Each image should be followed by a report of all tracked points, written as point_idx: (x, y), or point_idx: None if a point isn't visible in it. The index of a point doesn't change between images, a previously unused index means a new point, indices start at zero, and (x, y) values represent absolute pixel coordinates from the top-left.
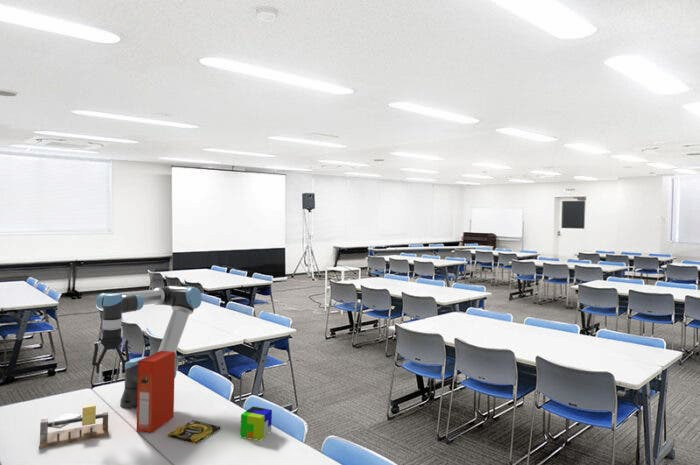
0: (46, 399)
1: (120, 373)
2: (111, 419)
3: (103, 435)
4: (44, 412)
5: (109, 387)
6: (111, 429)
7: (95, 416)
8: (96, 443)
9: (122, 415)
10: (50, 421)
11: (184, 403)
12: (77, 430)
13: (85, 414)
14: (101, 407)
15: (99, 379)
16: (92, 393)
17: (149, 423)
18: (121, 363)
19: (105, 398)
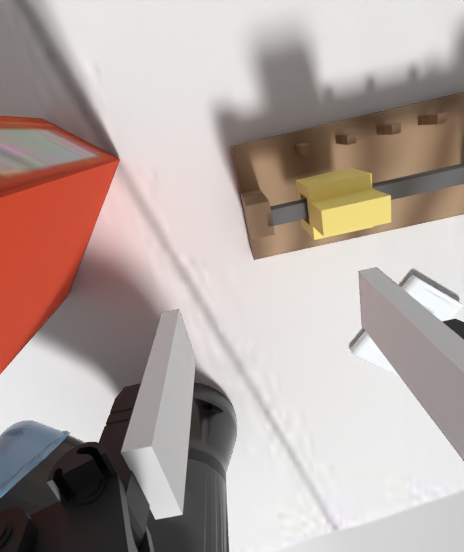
0: (452, 482)
1: (169, 341)
2: (245, 305)
3: (249, 142)
4: None
5: (288, 531)
6: (229, 211)
7: (304, 184)
8: (267, 72)
9: (211, 331)
10: (446, 320)
11: (2, 389)
12: None
13: (357, 190)
14: (293, 406)
15: (382, 274)
16: (331, 502)
17: (35, 125)
18: (144, 476)
19: (290, 466)
